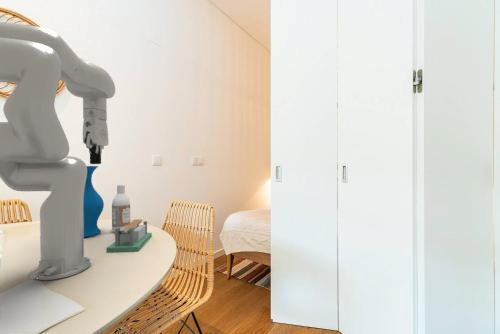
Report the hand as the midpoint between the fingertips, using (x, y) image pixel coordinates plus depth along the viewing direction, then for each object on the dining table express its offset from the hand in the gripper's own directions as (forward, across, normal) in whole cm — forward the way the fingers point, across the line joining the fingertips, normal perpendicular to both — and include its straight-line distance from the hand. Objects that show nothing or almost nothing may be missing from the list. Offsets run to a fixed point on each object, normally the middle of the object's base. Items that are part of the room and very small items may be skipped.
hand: (95, 163), depth 92 cm
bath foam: (+29, +11, -5) cm, 32 cm away
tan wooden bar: (+23, -5, -15) cm, 28 cm away
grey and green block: (+29, -6, -15) cm, 33 cm away
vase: (+29, +7, +7) cm, 31 cm away
